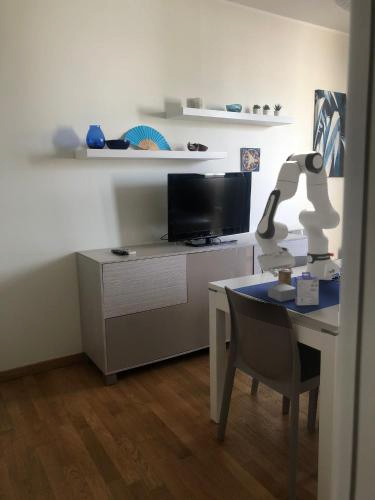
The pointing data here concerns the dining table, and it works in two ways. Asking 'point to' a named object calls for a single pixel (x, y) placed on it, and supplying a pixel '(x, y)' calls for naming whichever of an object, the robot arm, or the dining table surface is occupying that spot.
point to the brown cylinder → (284, 277)
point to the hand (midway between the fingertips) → (283, 275)
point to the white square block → (281, 292)
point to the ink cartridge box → (306, 290)
